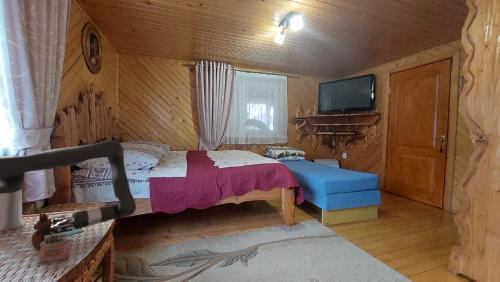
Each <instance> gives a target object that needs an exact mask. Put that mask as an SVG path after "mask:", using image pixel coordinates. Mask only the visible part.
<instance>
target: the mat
mask: <svg viewBox="0 0 500 282" xmlns="http://www.w3.org/2000/svg"><path fill="white" fill-rule="evenodd" d="M84 231H85V230H84V228H80V229H74V228H73V230H72V231H68V232H63V233H66V234H67V236H66V237H68V236H72V235H75V234H79V233H84ZM63 233H58V234H63ZM58 234H57V235H58Z"/></svg>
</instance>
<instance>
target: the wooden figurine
mask: <svg viewBox="0 0 500 282" xmlns="http://www.w3.org/2000/svg"><path fill="white" fill-rule="evenodd" d="M35 224H36V225H35V228H36V231H37V230H38V229H41V228H46V227H51V226H52V221H51V220H50V219H49V217H48V214H46V213H45V212H44V211H43V212H39V219H38V221H37V222H36V223H35ZM36 231H35V232H33V234H32V236H31V244H32V246H33V248H34V249H35V250H37V251H41V246H40V243H41V242H43V241H45V236H48V235H52V234H53V233H46V234H42V235H37V234H36Z"/></svg>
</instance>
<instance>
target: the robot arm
mask: <svg viewBox="0 0 500 282" xmlns="http://www.w3.org/2000/svg"><path fill="white" fill-rule="evenodd" d="M124 151H125V149H124V147H123V145H122V143H120V142H119V141H117V140H114V139H110V140H105V141H101V142H97V143H93V144H88V145H87V144H86V145H78V146H77V145H76V146H72V147H71V146H70V147H61V148H53V149H50V150H49V149H48V150H45V151H41V152H37V153H34V154H29V155H23V156H22V155H21V156H18V155H13V154H11V155H4V156H0V232H7V231H8V232H9V231H11V230H14V229H17V228H19V227H22V225H23V222H22V221H23V200H22V198H23V197H22V196H23V195H22V194H23V193H22V191H23V188H22V187H23V184H24V182H25V173H27V172H28V173H29V172H34V171H35V172H36V171H46V170H51V169H52V170H53V169H60V168H66V167H73V166H75V165H78V164H82V163H83V162H86V161H89V160H93V159H94V160H95V159H101V158H106V159H107V160H108V163H109V165H110V169H111V170H110V171H111V181H112V188H113V192H114V197H115V198H116V199H117V200H118V202H119V204H115V205H105V206H100V207H99V206H98V207H94V208H93V207H92V208H87V209H83V210H78V211H74V212H73V213H72V216H66V214H63V215H58V216H55V217H48V219H50V220H51V221H52V226H51V227H46V228H41V229H38V230H36V228H35V225H36V223H35V224H33V230H34V231H35V230H36V231H35V232H36V234H37V235H42V234H46V233H53V234H58V233H63V232H68V231H72V230H73V228H74V229H80V228H82V229H84V228H89V227H91V226H96V225H98V224H101V223H106V222H109V221H112V220H116V219H122V218H125V217H129V216H131V215H133V214H134V213H135V212H136V210H137V205H136V201H135V198H134V196H133V194H132V192H131V188H130V185H129V179H128V177H127V172H126V167H125V157H124V156H125V152H124Z"/></svg>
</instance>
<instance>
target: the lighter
mask: <svg viewBox="0 0 500 282" xmlns="http://www.w3.org/2000/svg"><path fill="white" fill-rule="evenodd" d="M67 237H68V236H67V234H66V233H63V234H58V235H57V234H52V235H48V236H45V241H43V242H41V243H40V246H41V250H40V260H39V265H40V264H41V266H44V265H43V264H46V265H53V264H54V263H55V264H59V263H64V262H66V261H68V260H69V258H70V256H69V241H70V239H69V238H67ZM46 265H45V266H46Z"/></svg>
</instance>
